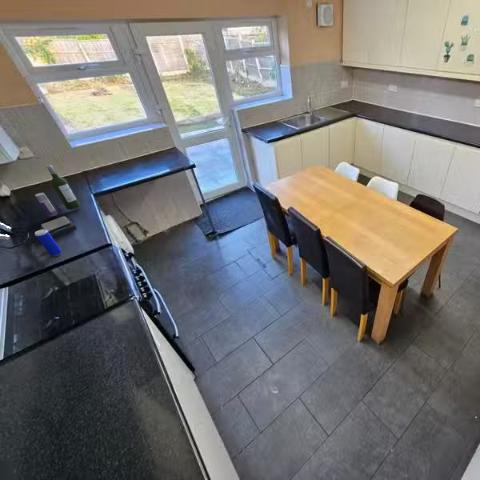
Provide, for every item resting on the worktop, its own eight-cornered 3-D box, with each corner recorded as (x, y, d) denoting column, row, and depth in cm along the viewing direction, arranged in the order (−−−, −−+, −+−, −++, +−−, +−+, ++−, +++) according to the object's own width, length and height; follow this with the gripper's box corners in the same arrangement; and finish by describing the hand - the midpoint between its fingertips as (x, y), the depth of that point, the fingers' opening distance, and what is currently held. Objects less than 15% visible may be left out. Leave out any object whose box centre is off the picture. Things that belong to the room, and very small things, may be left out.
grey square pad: (47, 232, 162) (46, 231, 161) (41, 225, 168) (41, 224, 167) (70, 223, 169) (69, 222, 168) (65, 217, 175) (64, 216, 174)
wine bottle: (73, 204, 193) (49, 163, 176) (83, 204, 192) (59, 163, 175) (63, 209, 187) (37, 167, 170) (73, 209, 186) (48, 167, 169)
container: (47, 215, 182) (33, 195, 173) (54, 212, 185) (41, 192, 176) (51, 216, 180) (37, 196, 172) (59, 213, 184) (46, 193, 175)
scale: (49, 239, 161) (46, 235, 159) (42, 229, 169) (39, 225, 168) (76, 228, 170) (74, 224, 168) (69, 219, 178) (66, 216, 176)
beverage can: (61, 250, 154) (46, 227, 145) (63, 253, 151) (47, 231, 142) (50, 254, 151) (33, 231, 142) (51, 258, 148) (34, 235, 139)
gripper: (-32, 218, 131) (8, 229, 141) (-40, 237, 118) (4, 248, 129) (-25, 207, 131) (15, 219, 142) (-32, 226, 118) (12, 237, 129)
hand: (10, 233), depth 135 cm, fingers open, 8 cm apart
